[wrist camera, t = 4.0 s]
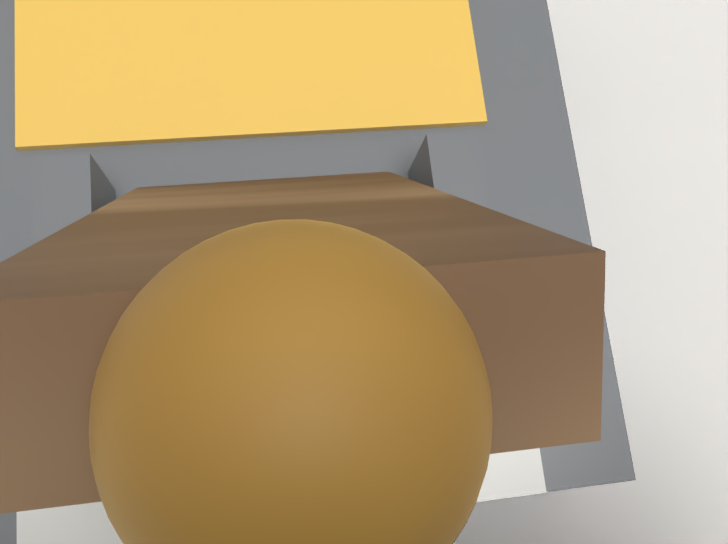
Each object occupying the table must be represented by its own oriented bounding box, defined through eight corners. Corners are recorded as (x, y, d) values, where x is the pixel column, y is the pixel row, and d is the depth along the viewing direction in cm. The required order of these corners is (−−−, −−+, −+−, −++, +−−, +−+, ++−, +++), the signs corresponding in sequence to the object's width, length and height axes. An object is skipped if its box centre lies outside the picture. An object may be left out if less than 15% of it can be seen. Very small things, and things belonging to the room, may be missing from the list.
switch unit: (576, 472, 17) (690, 487, 12) (-26, 548, 15) (-168, 602, 10) (497, 4, 20) (565, -133, 15) (-21, 21, 18) (-132, -130, 13)
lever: (392, 271, 15) (756, 664, 4) (150, 290, 14) (-189, 828, 3) (387, 147, 14) (792, 221, 3) (134, 161, 14) (-332, 309, 3)
